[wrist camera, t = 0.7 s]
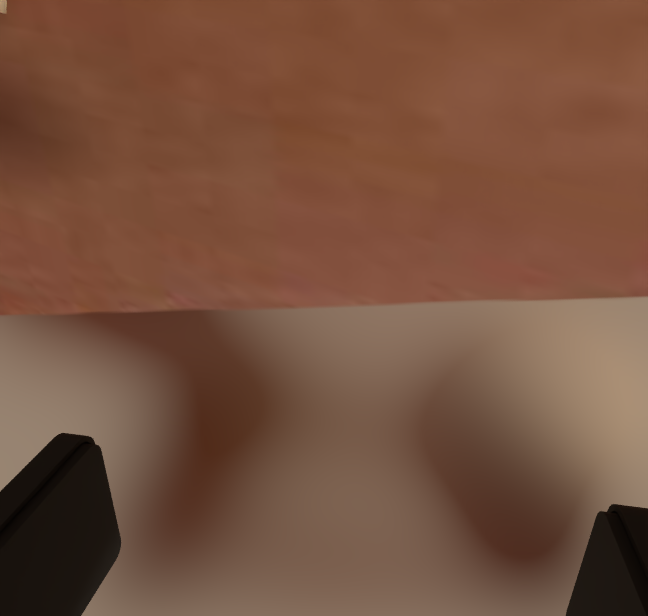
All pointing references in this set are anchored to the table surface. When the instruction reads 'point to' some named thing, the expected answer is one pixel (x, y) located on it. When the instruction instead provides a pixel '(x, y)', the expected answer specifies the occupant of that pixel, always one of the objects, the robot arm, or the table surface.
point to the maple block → (3, 6)
